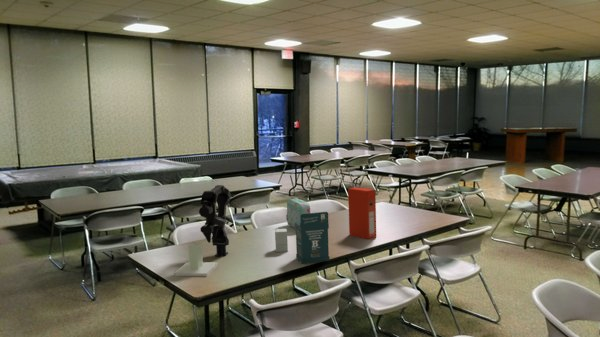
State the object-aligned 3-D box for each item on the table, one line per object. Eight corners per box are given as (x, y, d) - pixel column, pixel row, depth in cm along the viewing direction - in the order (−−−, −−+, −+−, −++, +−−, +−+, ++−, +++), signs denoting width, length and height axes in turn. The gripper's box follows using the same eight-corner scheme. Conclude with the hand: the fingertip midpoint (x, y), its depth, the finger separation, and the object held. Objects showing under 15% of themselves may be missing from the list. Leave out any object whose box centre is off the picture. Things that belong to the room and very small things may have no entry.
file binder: (368, 239, 293) (367, 191, 289) (349, 234, 306) (348, 188, 302) (376, 237, 298) (375, 189, 294) (357, 232, 311) (356, 187, 307)
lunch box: (284, 224, 342) (283, 197, 339) (297, 223, 346) (296, 195, 344) (299, 232, 318) (298, 202, 315) (312, 230, 322) (311, 200, 320)
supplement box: (287, 248, 279) (287, 228, 278) (287, 251, 272) (287, 231, 270) (275, 248, 279) (275, 228, 277) (275, 252, 271) (274, 231, 270)
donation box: (302, 264, 248) (300, 214, 245) (294, 256, 263) (292, 208, 260) (329, 260, 252) (328, 211, 249) (320, 252, 267) (318, 206, 264)
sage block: (195, 265, 246) (193, 242, 245) (203, 266, 245) (201, 243, 243) (190, 268, 242) (188, 245, 240) (198, 269, 240) (196, 245, 238)
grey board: (187, 264, 253) (186, 262, 253) (217, 265, 251) (217, 262, 251) (173, 275, 236) (173, 273, 235) (206, 276, 233) (206, 273, 233)
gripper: (219, 216, 242) (220, 245, 244) (229, 209, 260) (230, 236, 262) (199, 216, 243) (201, 245, 245) (210, 209, 262) (212, 236, 264)
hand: (212, 240), depth 254 cm, fingers open, 9 cm apart
